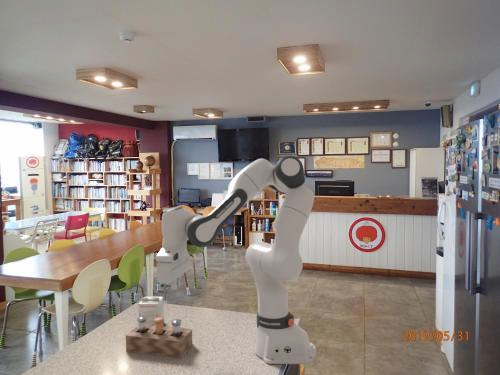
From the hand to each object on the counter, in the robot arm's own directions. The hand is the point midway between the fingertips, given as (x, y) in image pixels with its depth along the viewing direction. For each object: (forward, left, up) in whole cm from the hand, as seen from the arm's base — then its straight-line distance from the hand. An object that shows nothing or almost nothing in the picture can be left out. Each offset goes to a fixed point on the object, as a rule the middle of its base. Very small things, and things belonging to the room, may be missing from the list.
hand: (175, 288), depth 133 cm
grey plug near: (0, 0, -19) cm, 19 cm away
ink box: (+19, -16, -23) cm, 34 cm away
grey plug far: (+14, 0, -19) cm, 23 cm away
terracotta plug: (+7, 0, -19) cm, 20 cm away
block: (+7, 0, -23) cm, 24 cm away
